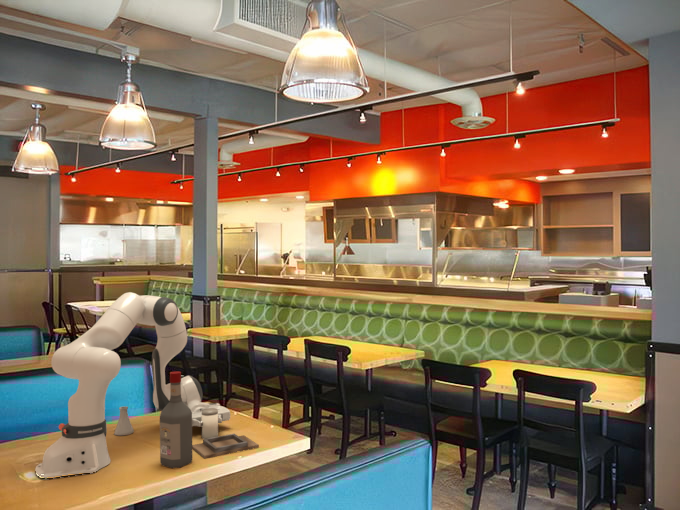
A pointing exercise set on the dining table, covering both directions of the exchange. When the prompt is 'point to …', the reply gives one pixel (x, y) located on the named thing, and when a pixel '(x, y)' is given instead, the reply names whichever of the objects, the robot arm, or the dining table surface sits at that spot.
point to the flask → (123, 423)
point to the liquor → (175, 428)
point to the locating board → (223, 445)
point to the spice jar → (210, 423)
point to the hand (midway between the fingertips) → (210, 422)
